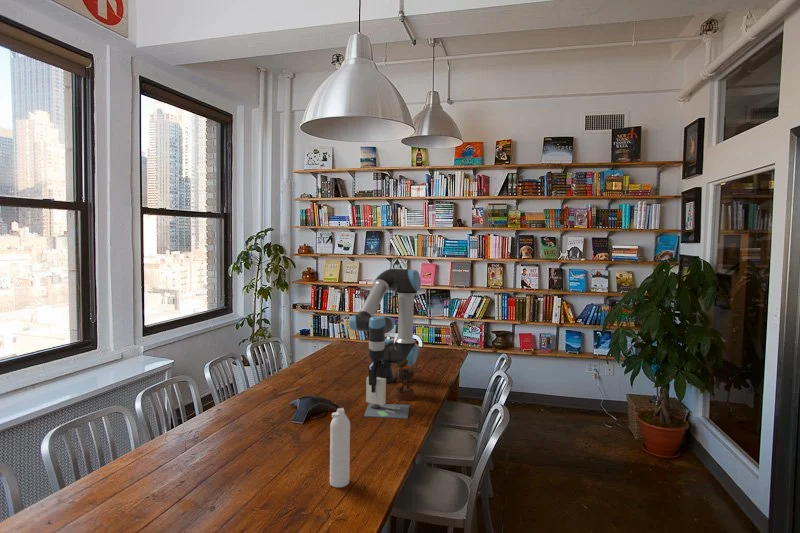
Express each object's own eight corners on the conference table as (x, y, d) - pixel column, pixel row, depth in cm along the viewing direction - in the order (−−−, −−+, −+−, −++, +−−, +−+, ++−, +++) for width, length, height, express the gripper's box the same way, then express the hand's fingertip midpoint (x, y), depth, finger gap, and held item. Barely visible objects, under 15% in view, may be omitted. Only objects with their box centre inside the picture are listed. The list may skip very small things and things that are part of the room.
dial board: (368, 404, 219) (368, 403, 219) (409, 405, 218) (409, 404, 218) (363, 416, 203) (364, 415, 203) (407, 418, 202) (407, 417, 202)
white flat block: (369, 403, 218) (370, 375, 217) (396, 408, 212) (397, 379, 211) (365, 406, 214) (365, 378, 213) (392, 411, 208) (393, 382, 207)
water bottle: (334, 476, 152) (335, 404, 150) (352, 479, 150) (353, 406, 149) (323, 489, 143) (324, 413, 142) (342, 493, 142) (343, 416, 140)
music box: (408, 403, 222) (405, 363, 221) (388, 400, 227) (386, 361, 227) (421, 394, 235) (419, 356, 235) (402, 392, 240) (400, 355, 240)
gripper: (377, 344, 221) (376, 391, 223) (361, 351, 207) (360, 401, 208) (390, 346, 218) (389, 393, 220) (376, 353, 204) (375, 404, 205)
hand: (375, 397), depth 214 cm, fingers closed on white flat block, 3 cm apart
